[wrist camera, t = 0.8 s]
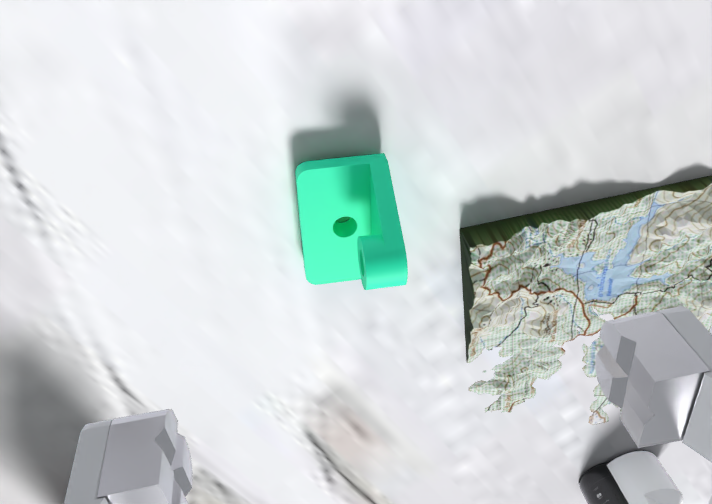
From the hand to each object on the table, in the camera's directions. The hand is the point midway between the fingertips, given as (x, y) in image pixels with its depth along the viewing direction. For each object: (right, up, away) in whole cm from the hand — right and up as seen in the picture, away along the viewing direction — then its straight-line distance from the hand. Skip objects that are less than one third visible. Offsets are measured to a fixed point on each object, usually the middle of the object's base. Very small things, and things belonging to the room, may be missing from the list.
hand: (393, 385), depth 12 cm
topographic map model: (+26, -6, +61) cm, 67 cm away
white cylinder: (+38, -28, +78) cm, 91 cm away
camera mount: (-2, +6, +46) cm, 47 cm away
